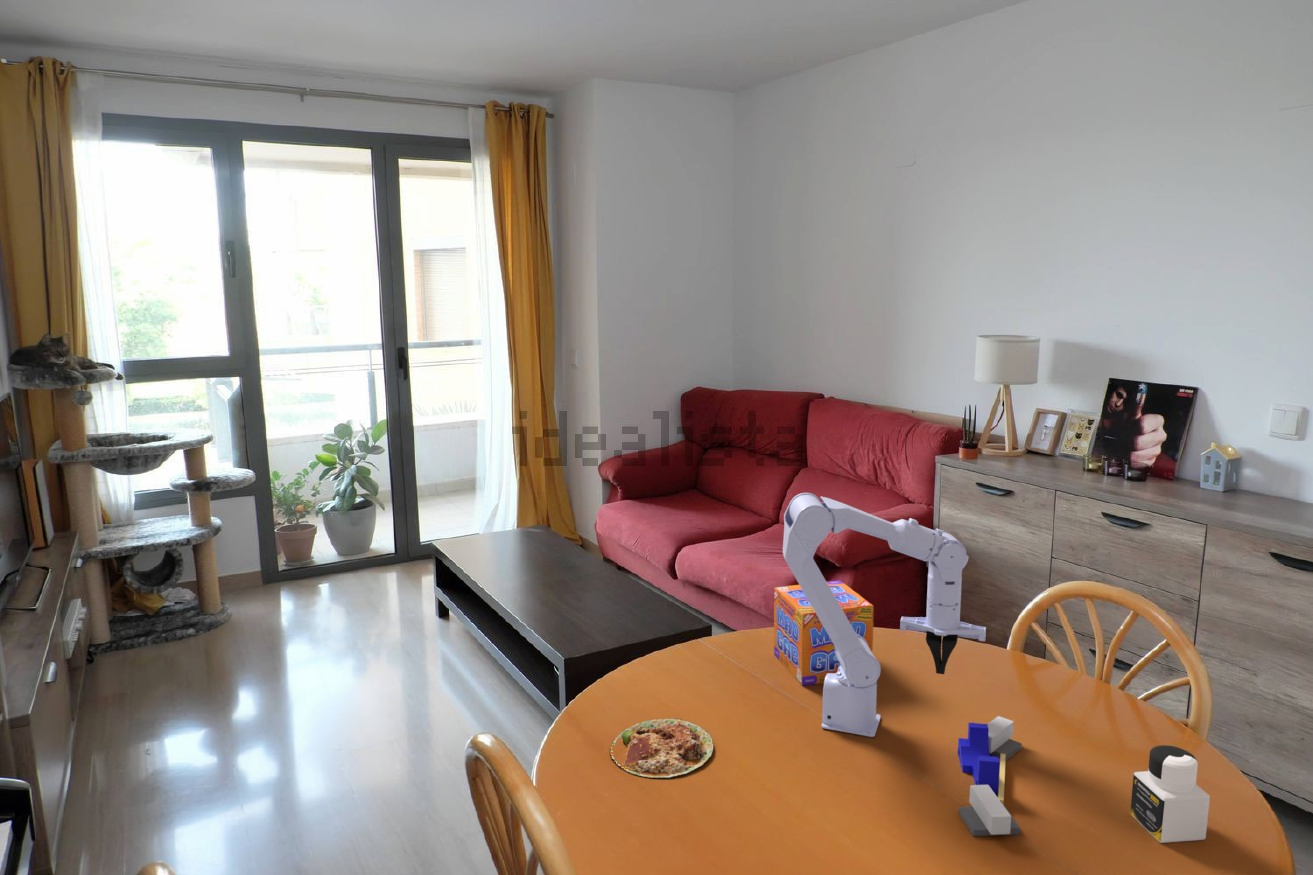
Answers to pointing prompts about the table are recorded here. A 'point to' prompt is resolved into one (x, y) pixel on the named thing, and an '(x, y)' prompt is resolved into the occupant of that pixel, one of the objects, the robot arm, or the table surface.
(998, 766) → the blue piece
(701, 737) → the food
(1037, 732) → the table surface
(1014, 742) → the shaft rig
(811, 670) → the game box
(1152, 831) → the medicine bottle
